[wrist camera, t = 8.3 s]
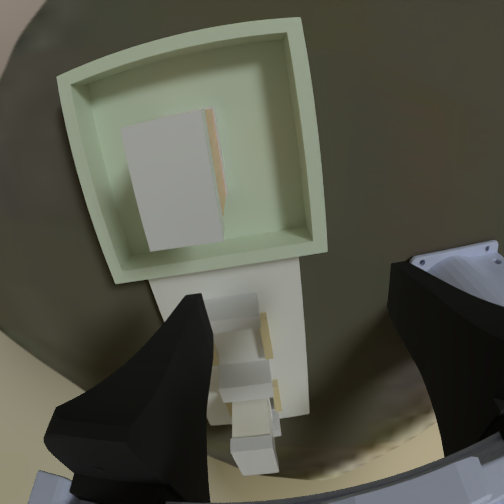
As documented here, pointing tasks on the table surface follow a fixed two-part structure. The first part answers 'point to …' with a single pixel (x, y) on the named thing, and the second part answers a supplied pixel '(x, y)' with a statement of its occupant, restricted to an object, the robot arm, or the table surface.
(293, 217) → the tray
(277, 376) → the fuse block
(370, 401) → the table surface
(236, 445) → the block
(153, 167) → the block
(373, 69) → the table surface
